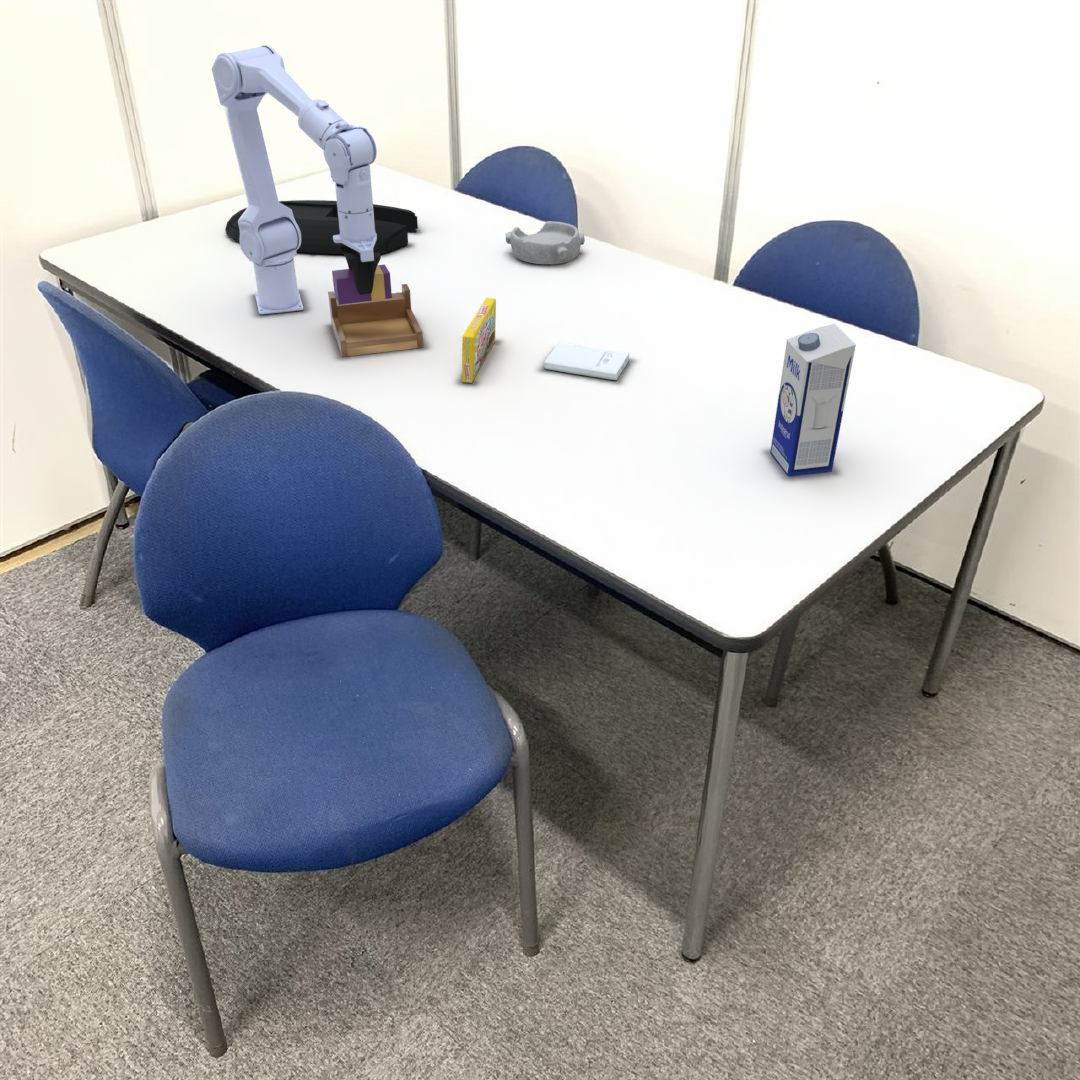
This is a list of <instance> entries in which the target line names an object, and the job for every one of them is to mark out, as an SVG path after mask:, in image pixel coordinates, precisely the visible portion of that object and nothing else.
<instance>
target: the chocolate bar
mask: <svg viewBox="0 0 1080 1080" xmlns="http://www.w3.org/2000/svg"><path fill="white" fill-rule="evenodd" d="M331 274H332V275H331V276H332V283H333V291H334V294H335V298H336V300H337V302H338V304H339V305H343V304H350V303H358V302H366V301H374V300H382V299H389V298H392V293H393V292H392V281H391V271H389V269H388V267H387V266H386V264H378V265H377V268H376V271H375V276H374V283H373V290H372V293H370V294H363V295H360V294H359V292H358V289H357V286H356V282H355V278H354V274H353V271H352V268H351V269H349V268H343V269H336V270H332V271H331Z"/></svg>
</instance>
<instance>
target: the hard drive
mask: <svg viewBox="0 0 1080 1080" xmlns="http://www.w3.org/2000/svg"><path fill="white" fill-rule="evenodd" d="M629 361H630V353H628V352H622V351H615V350H609V349H604V348H597V347H591V346H584V345H579V344H578V345H577V344H572V343H567V342H558V343H557V344H556V345H555V347H553V349H552V350H551V352H550V353H549V354H548V356H547V357H546V358H545V360H544V361H543V369H544V370H549V371H555V372H562V373H568V374H574V375H580V376H586V377H593V378H598V379H604V380H611V381H617V380H618V379H619V377H620V376H621V374H622V372H623V371H624V369H626V366H627V365H628V363H629Z"/></svg>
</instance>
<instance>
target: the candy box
mask: <svg viewBox="0 0 1080 1080" xmlns="http://www.w3.org/2000/svg"><path fill="white" fill-rule="evenodd" d="M496 324H497V299H496V298H492V297H486V298H485V300H484V301H483V302H482V304H481V305H480V307H479V309H478V310H477V312H476V314H475V316H474V317H473V319H472V320H471V321H470V323H469V325H468V326H467V328H466V330H465V331H464V333H463V334H462V341H461V342H462V346H461V347H462V348H461V350H462V353H461V359H462V360H461V382H462V383H465V384H467V383H468V384H469V383H470V384H472V383H473V382H474V380H475V378H476V376H477V375H478V373H479V371H480V369H481V368H482V365H483V364H484V362H485V360H486V359H487V357H488V355H489V353H490V352H491V350H492V348H493V346H494V345H495V343H496Z"/></svg>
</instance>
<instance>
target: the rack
mask: <svg viewBox="0 0 1080 1080" xmlns="http://www.w3.org/2000/svg"><path fill="white" fill-rule="evenodd" d="M327 296H328V305H329V313H330V323H331V329H332V331H333V335H334V337H335V340H336V343H337V346H338V349H339V352H340V356H341V357H342V358H345V357H353V356H363V355H370V354H371V355H372V354H379V353H389V352H396V351H405V350H414V349H422V348H424V339H423V338H424V337H423V336H424V335H423V329H422V327H421V325H420V324H419V322H418V320H417V318H416V316H415V313H414V312H413V310H412V300H411V298H412V297H411V289H410V288H409V286H408V283H402V284H401V292H392V298H389V299H382V300H374V301H366V302H358V303H350V304H343V305H339V304H338V302H337V300H336V298H335V294H334V290H333V291H328V292H327Z"/></svg>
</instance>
